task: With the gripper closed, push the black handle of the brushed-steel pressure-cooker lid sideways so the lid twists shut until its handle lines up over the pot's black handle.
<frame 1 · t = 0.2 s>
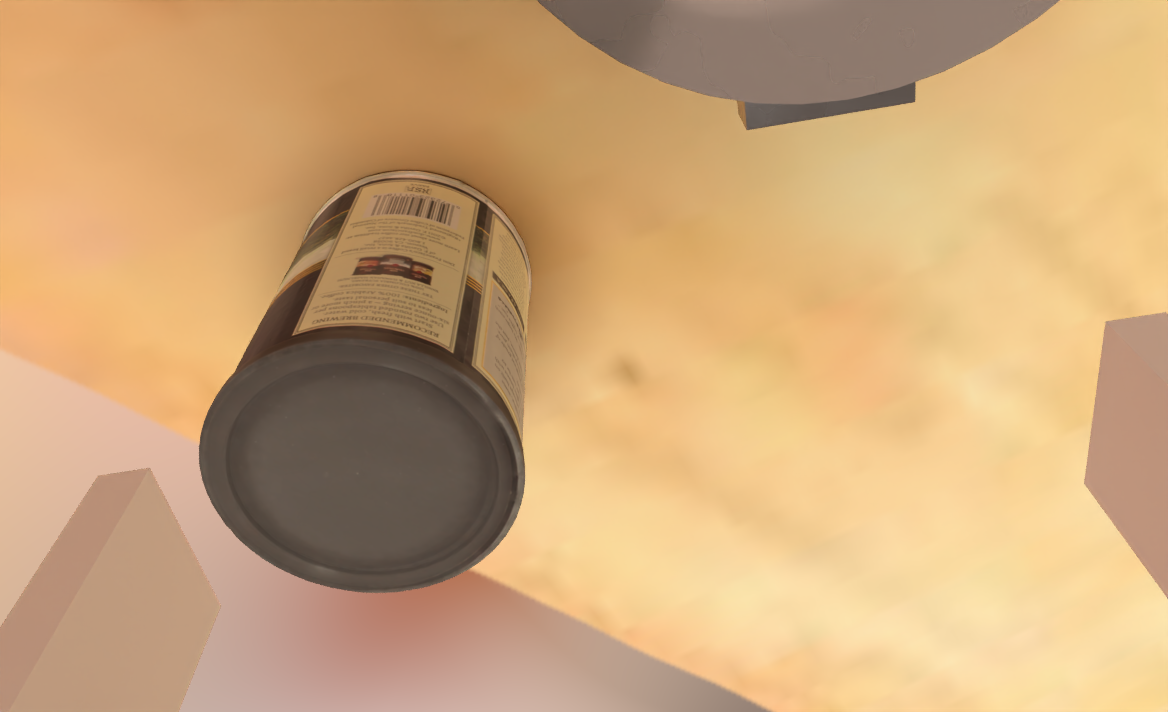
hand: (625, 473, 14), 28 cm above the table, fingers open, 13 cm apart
coffee can: (419, 277, 43), on the table
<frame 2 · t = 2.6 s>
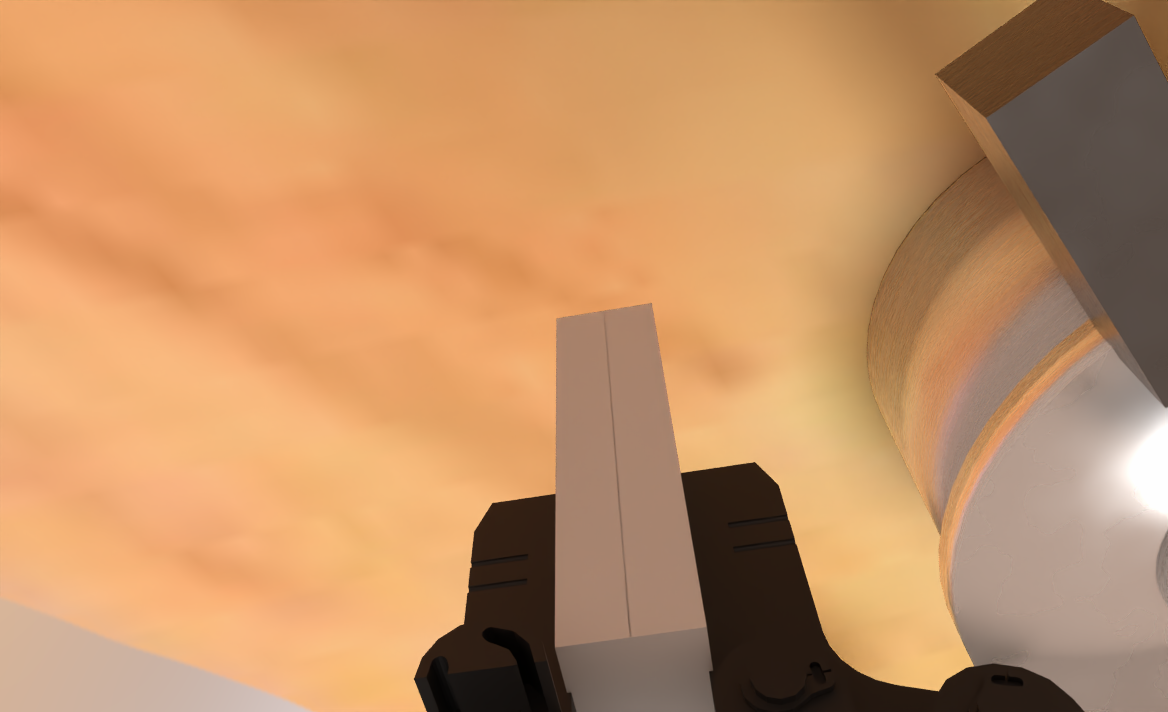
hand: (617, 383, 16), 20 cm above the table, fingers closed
pot: (1094, 319, 38), on the table
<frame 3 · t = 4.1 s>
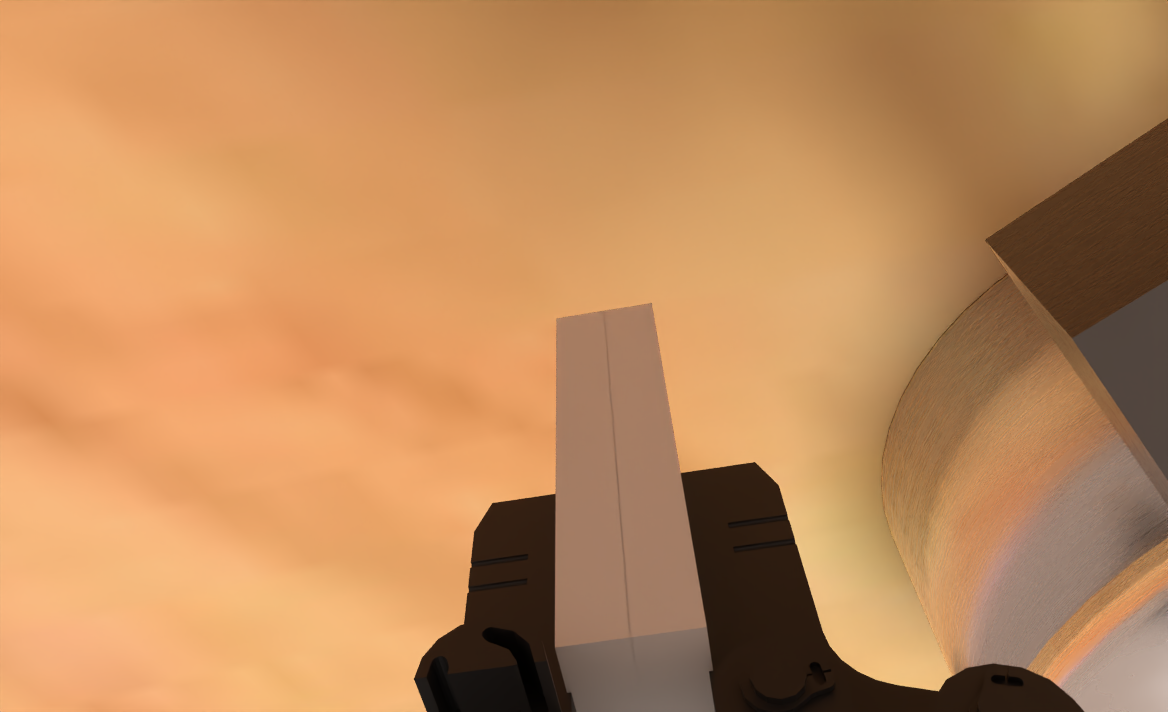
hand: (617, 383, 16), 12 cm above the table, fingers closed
pot: (1153, 443, 32), on the table
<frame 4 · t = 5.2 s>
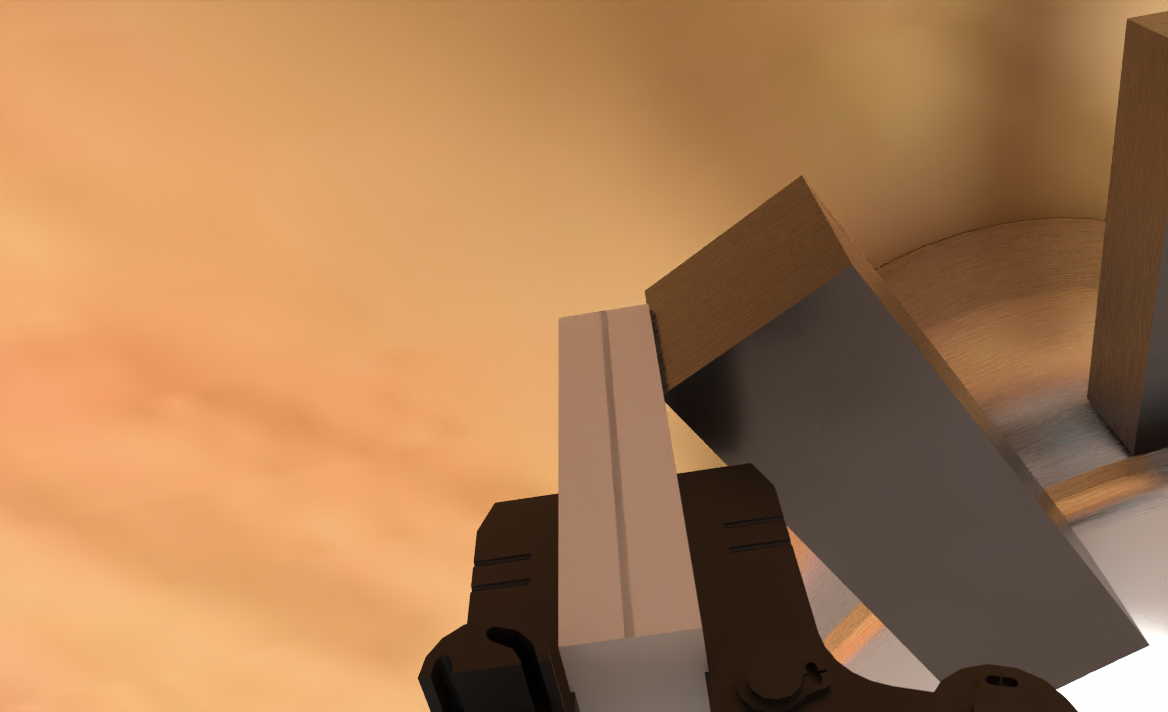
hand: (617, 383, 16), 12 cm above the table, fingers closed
pot: (994, 465, 32), on the table
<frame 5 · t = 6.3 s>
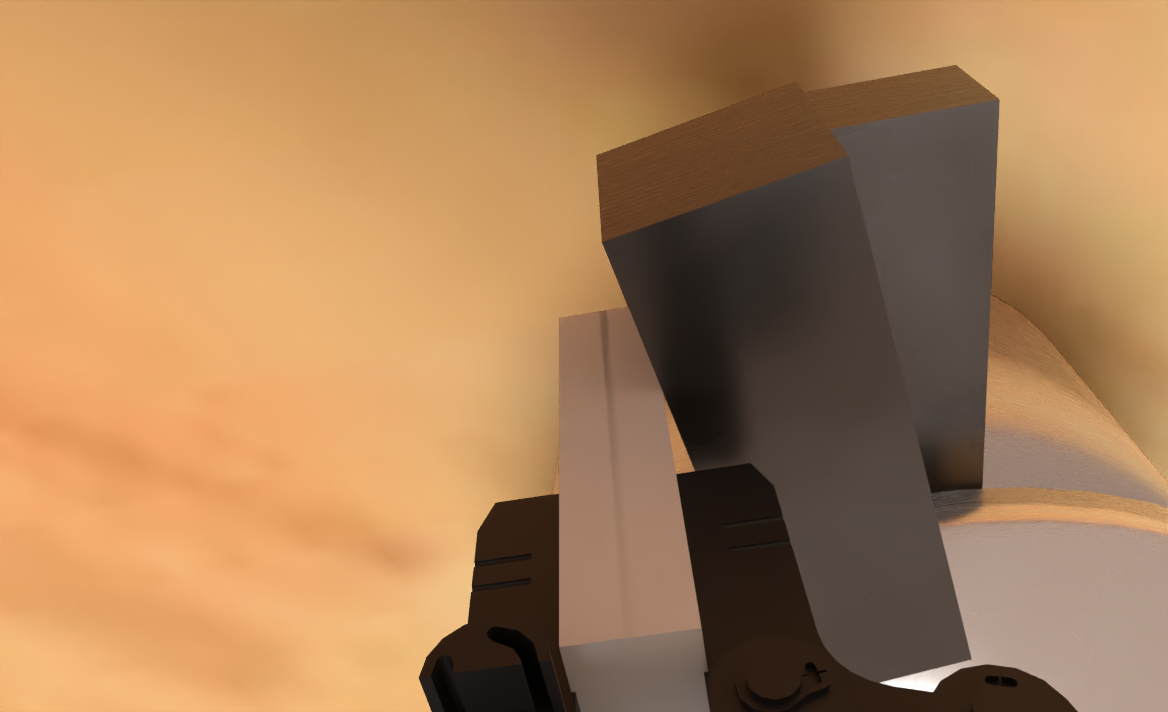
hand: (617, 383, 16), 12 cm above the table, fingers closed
pot: (816, 501, 33), on the table
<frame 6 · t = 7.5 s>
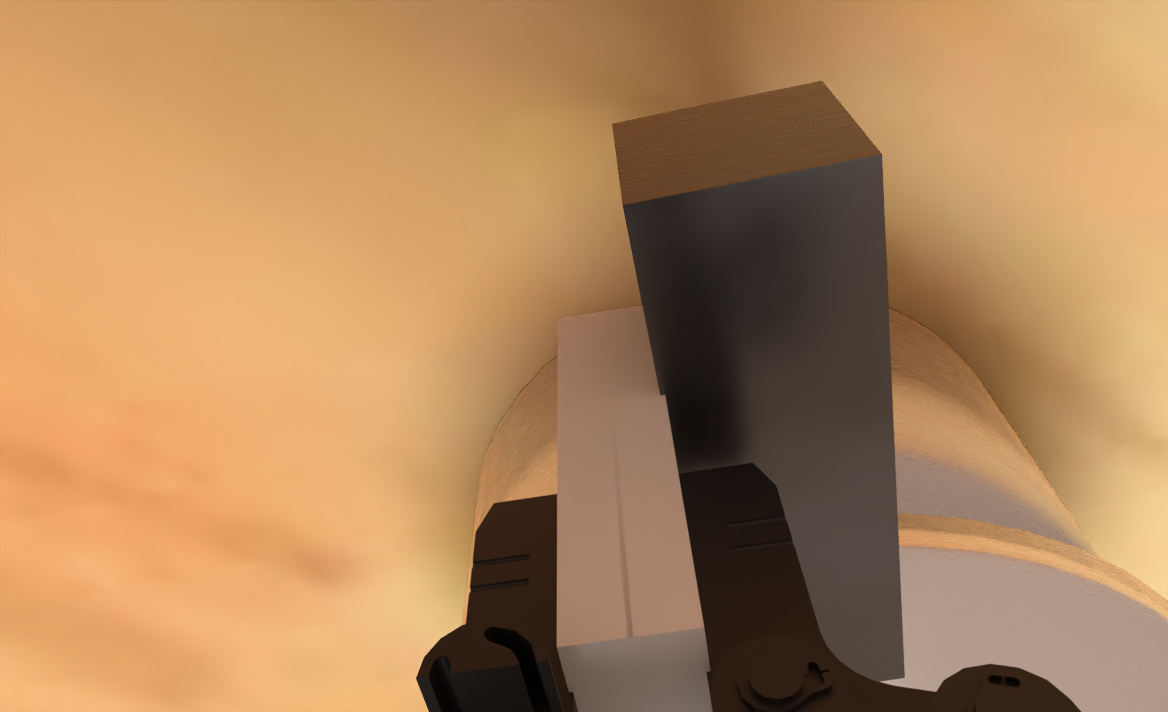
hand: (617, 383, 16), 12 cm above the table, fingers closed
pot: (739, 516, 33), on the table
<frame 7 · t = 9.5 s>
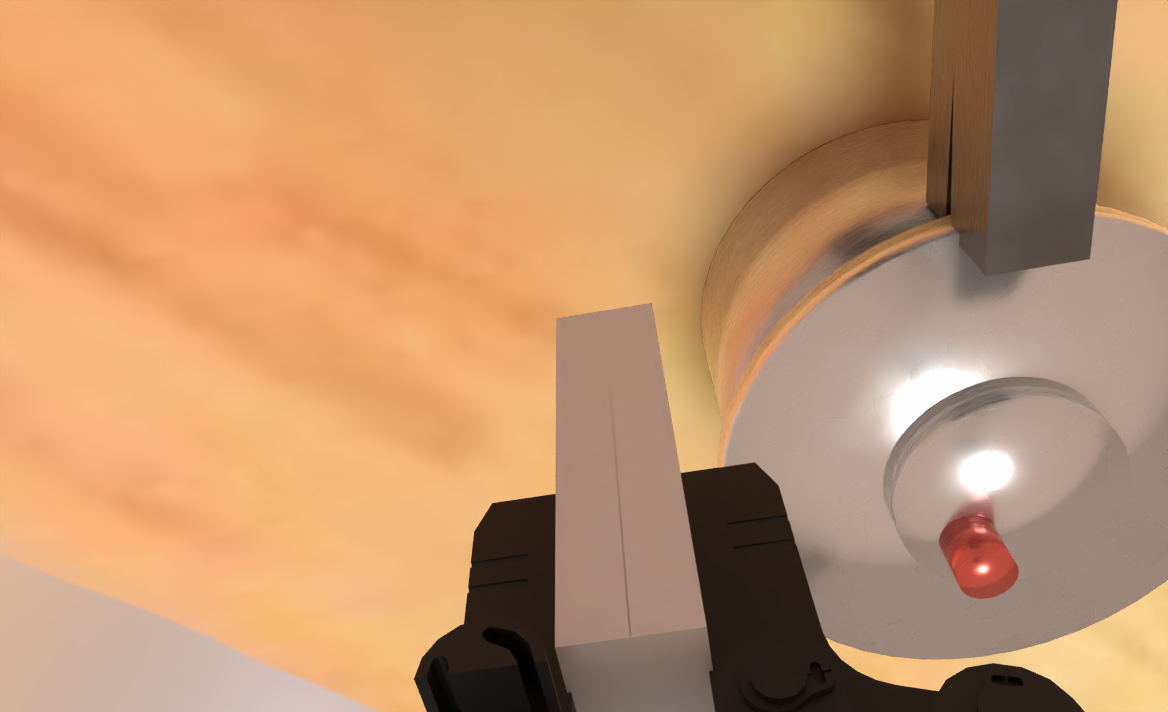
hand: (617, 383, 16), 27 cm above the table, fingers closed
lid: (1013, 389, 32), point 14 cm above the table, hinge at 1.9°
pot: (890, 306, 46), on the table
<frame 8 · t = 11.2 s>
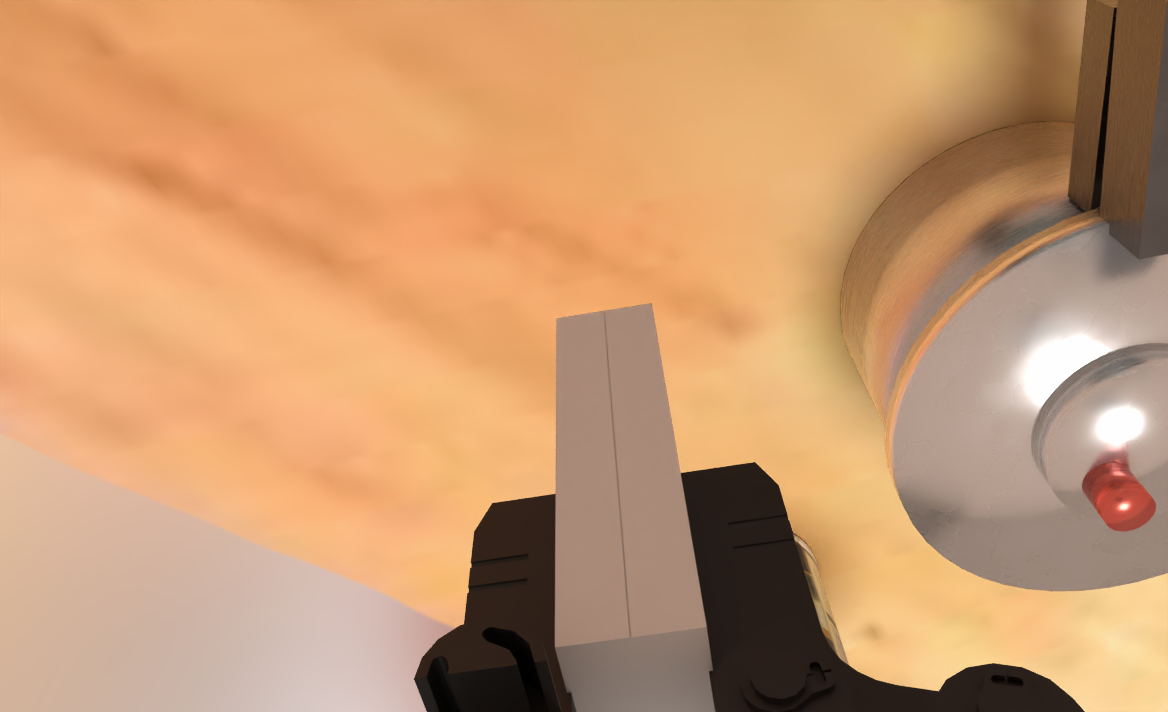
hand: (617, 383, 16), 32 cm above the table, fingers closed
lid: (1151, 353, 38), point 14 cm above the table, hinge at 1.9°
pot: (1009, 286, 52), on the table
coffee can: (739, 578, 63), on the table
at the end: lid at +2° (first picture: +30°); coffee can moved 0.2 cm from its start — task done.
